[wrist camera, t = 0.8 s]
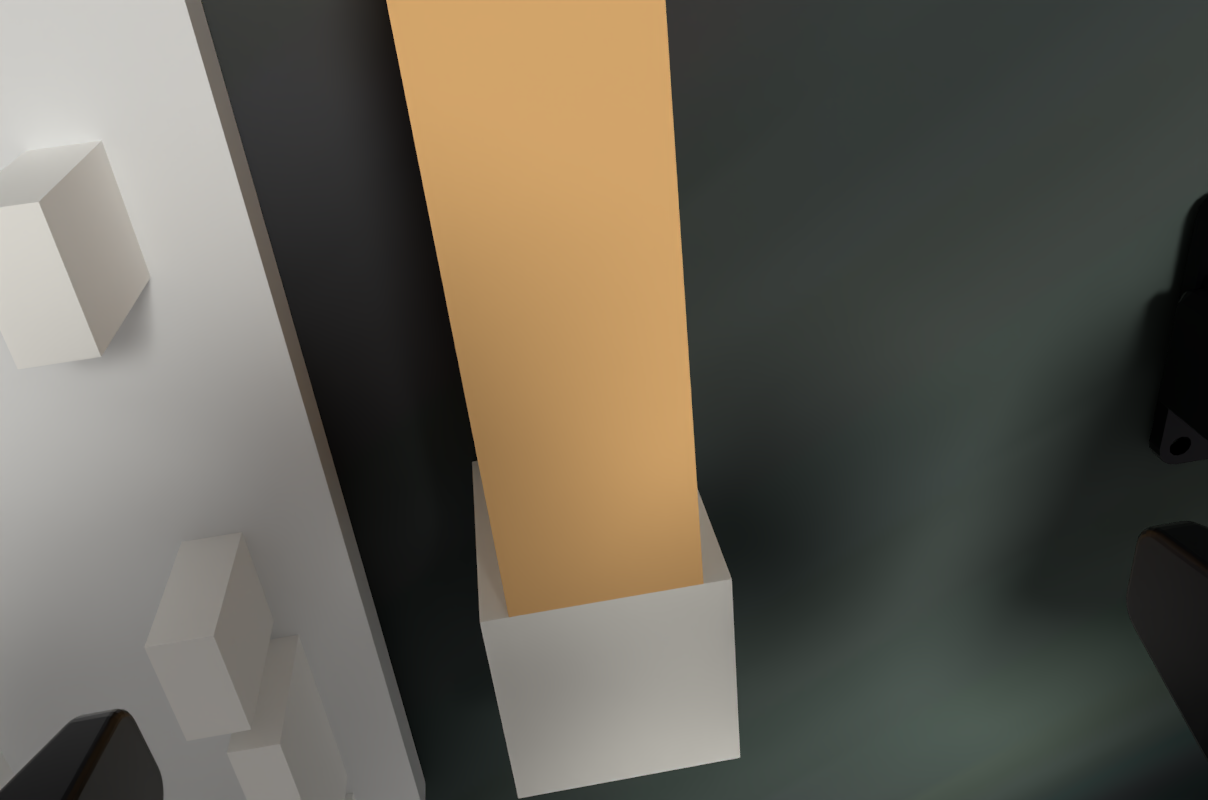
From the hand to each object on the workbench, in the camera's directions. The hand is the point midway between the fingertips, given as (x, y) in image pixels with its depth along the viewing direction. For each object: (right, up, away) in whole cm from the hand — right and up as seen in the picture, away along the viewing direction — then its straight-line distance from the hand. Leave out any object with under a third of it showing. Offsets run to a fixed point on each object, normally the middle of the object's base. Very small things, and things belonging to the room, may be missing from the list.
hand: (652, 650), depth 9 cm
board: (-11, 0, +12) cm, 16 cm away
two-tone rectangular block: (-1, +4, +11) cm, 12 cm away
